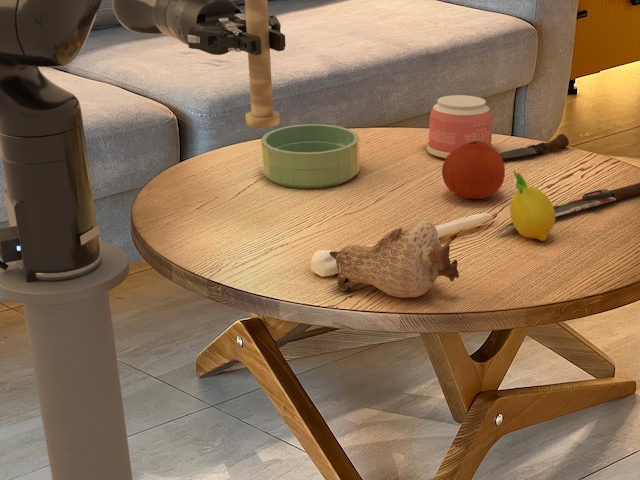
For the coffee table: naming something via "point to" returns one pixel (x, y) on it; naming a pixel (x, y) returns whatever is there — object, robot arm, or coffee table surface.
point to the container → (458, 124)
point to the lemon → (531, 211)
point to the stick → (260, 68)
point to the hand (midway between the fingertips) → (270, 44)
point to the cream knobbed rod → (327, 264)
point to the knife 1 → (537, 148)
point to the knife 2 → (592, 200)
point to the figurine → (398, 262)
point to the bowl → (310, 155)
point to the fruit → (473, 170)
